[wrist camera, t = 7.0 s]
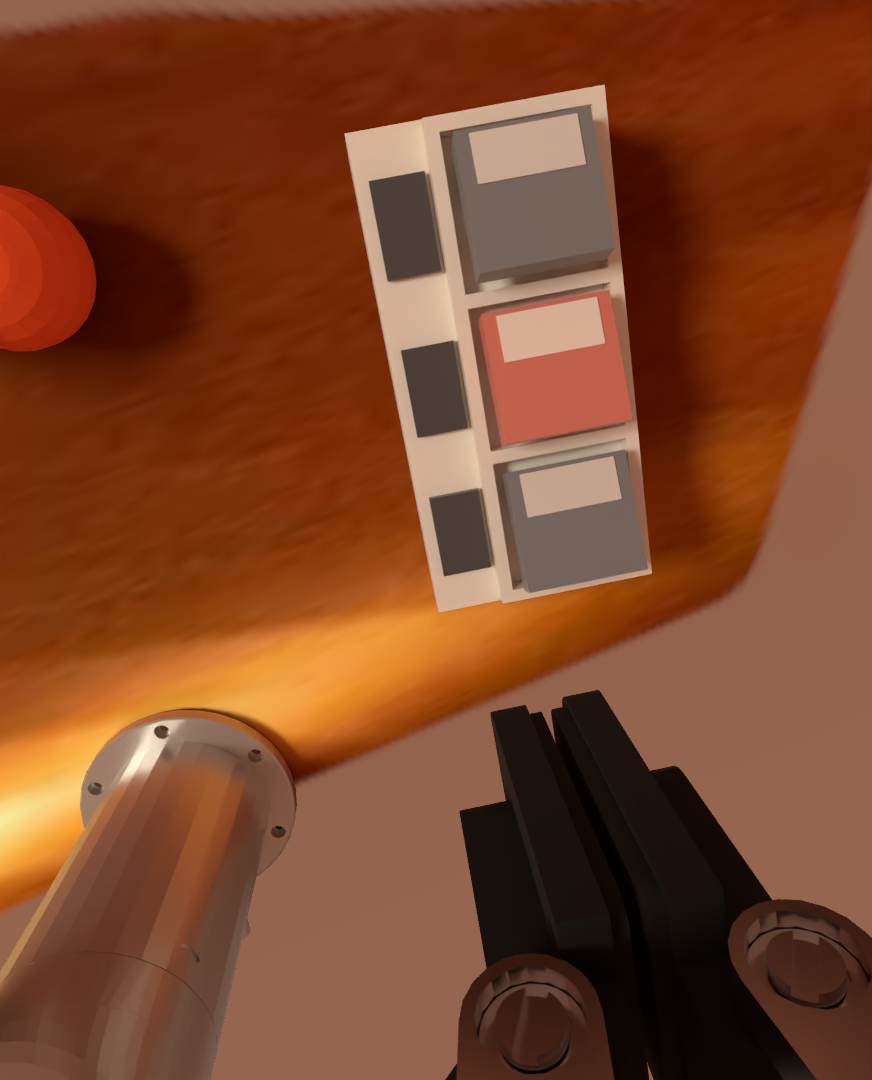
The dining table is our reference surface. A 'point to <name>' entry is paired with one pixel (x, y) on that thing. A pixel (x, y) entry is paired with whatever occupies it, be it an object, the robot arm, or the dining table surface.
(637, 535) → the rocker
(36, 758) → the dining table surface
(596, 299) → the rocker mid
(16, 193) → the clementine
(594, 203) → the plate
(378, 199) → the rocker switch panel
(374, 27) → the dining table surface
